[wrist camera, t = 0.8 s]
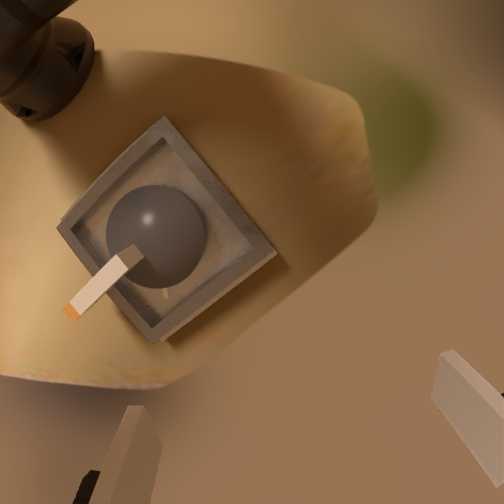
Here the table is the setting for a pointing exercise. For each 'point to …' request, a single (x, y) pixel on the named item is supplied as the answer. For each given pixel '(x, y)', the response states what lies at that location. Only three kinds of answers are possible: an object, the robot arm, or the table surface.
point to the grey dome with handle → (147, 243)
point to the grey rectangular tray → (216, 219)
